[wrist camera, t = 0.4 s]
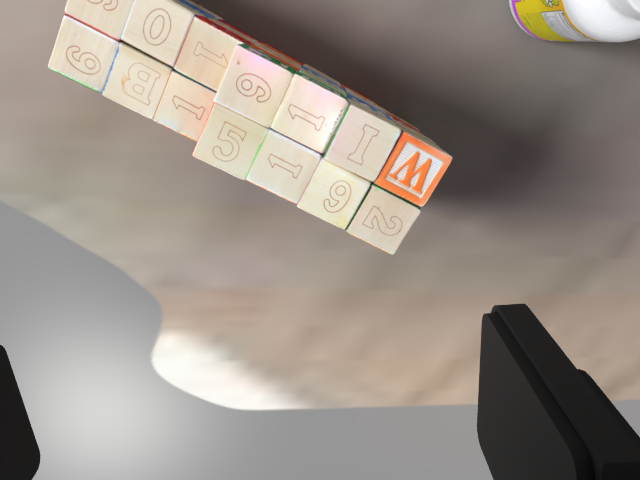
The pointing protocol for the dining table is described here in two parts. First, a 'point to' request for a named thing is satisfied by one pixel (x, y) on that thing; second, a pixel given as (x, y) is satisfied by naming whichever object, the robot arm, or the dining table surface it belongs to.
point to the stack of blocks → (255, 112)
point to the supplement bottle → (578, 19)
